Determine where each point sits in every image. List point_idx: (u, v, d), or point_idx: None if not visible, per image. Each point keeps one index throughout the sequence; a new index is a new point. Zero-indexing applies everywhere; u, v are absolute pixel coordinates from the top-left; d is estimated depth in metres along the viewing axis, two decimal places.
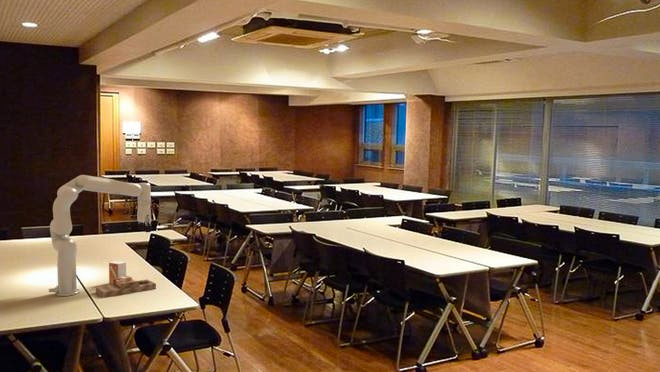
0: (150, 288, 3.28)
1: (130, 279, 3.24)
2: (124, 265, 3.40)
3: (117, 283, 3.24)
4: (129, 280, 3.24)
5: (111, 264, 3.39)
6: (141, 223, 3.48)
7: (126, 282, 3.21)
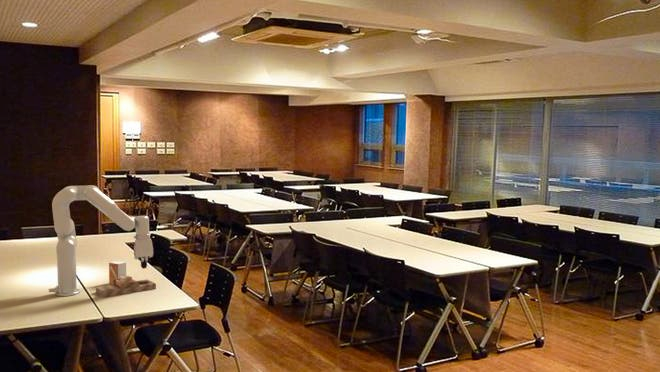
0: (150, 288, 3.28)
1: (130, 279, 3.24)
2: (124, 265, 3.40)
3: (117, 283, 3.24)
4: (129, 280, 3.24)
5: (111, 264, 3.39)
6: None
7: (126, 282, 3.21)
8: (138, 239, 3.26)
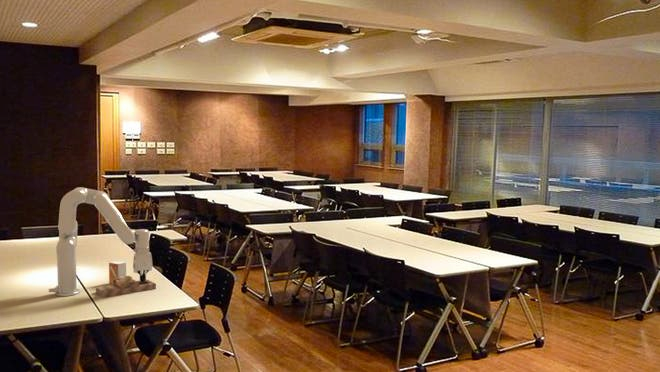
0: (150, 288, 3.28)
1: (130, 279, 3.24)
2: (124, 264, 3.40)
3: (117, 283, 3.24)
4: (129, 280, 3.24)
5: (111, 264, 3.39)
6: (142, 273, 3.31)
7: (126, 282, 3.21)
8: (138, 252, 3.27)
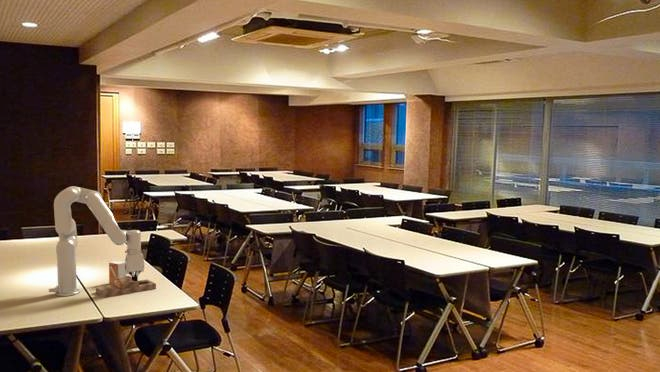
0: (150, 288, 3.28)
1: (129, 279, 3.24)
2: (124, 265, 3.40)
3: (115, 283, 3.23)
4: (128, 280, 3.24)
5: (111, 264, 3.39)
6: None
7: None
8: (129, 254, 3.24)
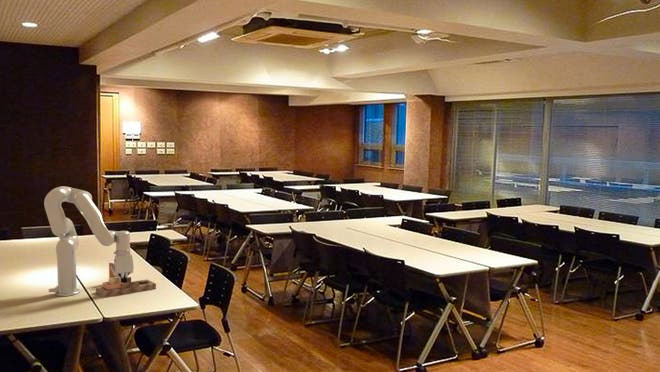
0: (150, 288, 3.28)
1: (118, 281, 3.20)
2: None
3: (104, 285, 3.19)
4: (117, 281, 3.20)
5: (111, 264, 3.39)
6: None
7: (113, 284, 3.16)
8: (118, 255, 3.20)
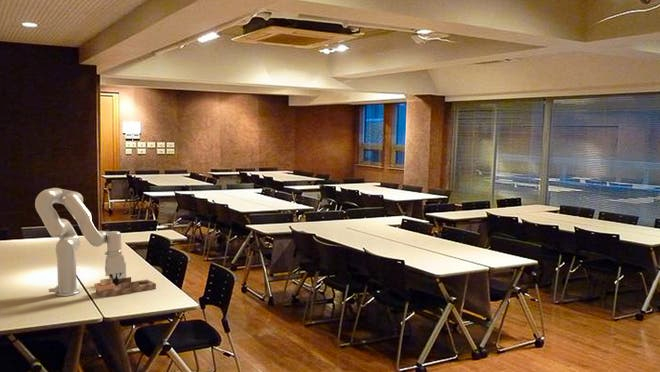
0: (150, 288, 3.28)
1: (110, 282, 3.17)
2: None
3: (95, 286, 3.16)
4: (109, 283, 3.17)
5: None
6: (114, 276, 3.21)
7: None
8: (109, 255, 3.16)
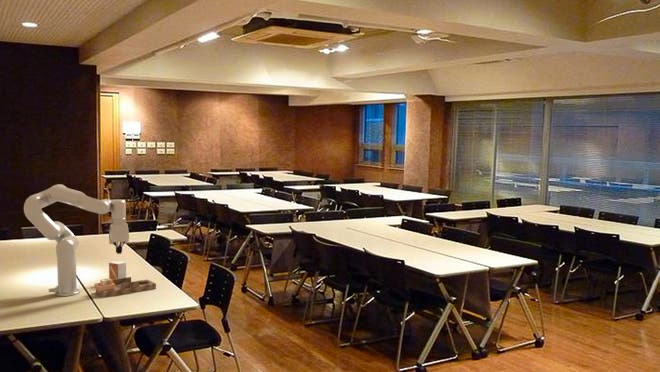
0: (150, 288, 3.28)
1: (110, 282, 3.17)
2: (124, 264, 3.40)
3: (95, 286, 3.16)
4: (109, 283, 3.17)
5: (111, 264, 3.39)
6: None
7: None
8: (113, 223, 3.18)
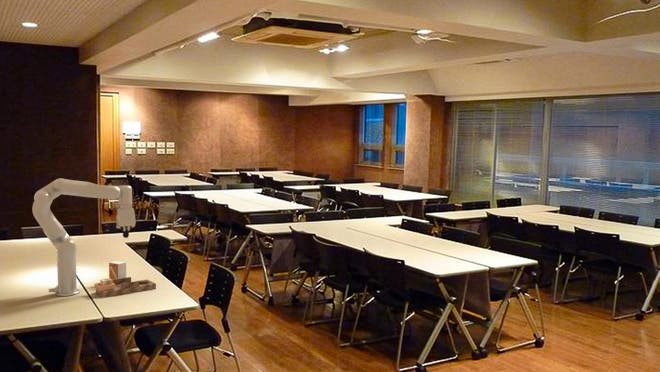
0: (150, 288, 3.28)
1: (110, 282, 3.17)
2: (124, 265, 3.40)
3: (95, 286, 3.16)
4: (109, 283, 3.17)
5: (111, 264, 3.39)
6: (125, 229, 3.33)
7: None
8: (120, 208, 3.29)
